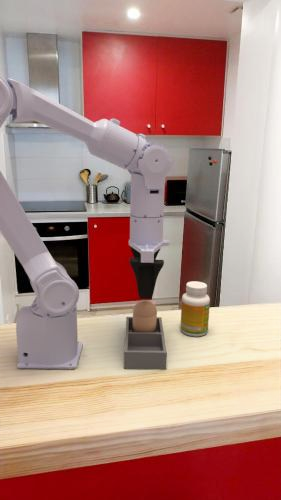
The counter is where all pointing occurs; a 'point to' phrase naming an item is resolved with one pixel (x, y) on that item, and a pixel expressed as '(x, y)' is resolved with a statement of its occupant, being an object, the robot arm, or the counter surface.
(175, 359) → the counter surface
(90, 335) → the counter surface
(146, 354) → the carrier
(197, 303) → the supplement bottle
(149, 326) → the tan capsule
